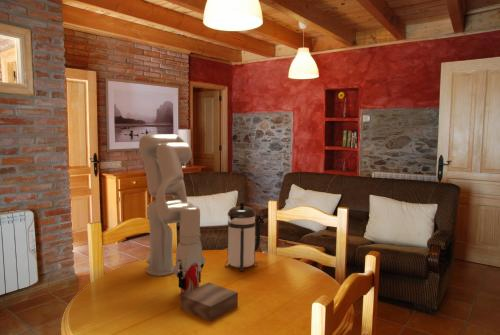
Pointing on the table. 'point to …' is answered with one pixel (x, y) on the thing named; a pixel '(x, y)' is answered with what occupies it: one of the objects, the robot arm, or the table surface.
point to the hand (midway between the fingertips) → (189, 284)
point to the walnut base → (209, 301)
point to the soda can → (191, 278)
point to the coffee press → (242, 236)
